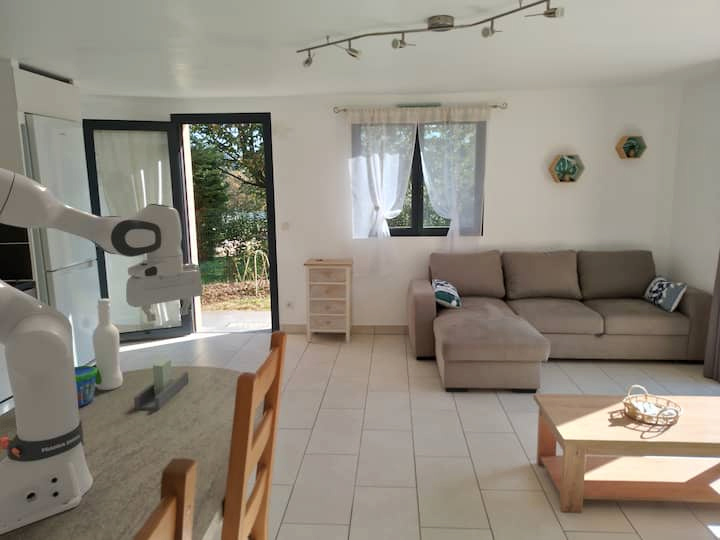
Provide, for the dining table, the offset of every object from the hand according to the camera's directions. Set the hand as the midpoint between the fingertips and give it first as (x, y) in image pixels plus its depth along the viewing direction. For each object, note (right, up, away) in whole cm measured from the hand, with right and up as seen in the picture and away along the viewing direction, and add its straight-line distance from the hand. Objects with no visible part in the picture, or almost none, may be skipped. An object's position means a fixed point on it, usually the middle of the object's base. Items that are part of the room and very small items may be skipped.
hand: (168, 317), depth 127 cm
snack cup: (-35, -29, +20) cm, 50 cm away
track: (-12, -28, +27) cm, 40 cm away
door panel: (-12, -27, +27) cm, 40 cm away
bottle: (-33, -27, +33) cm, 54 cm away
